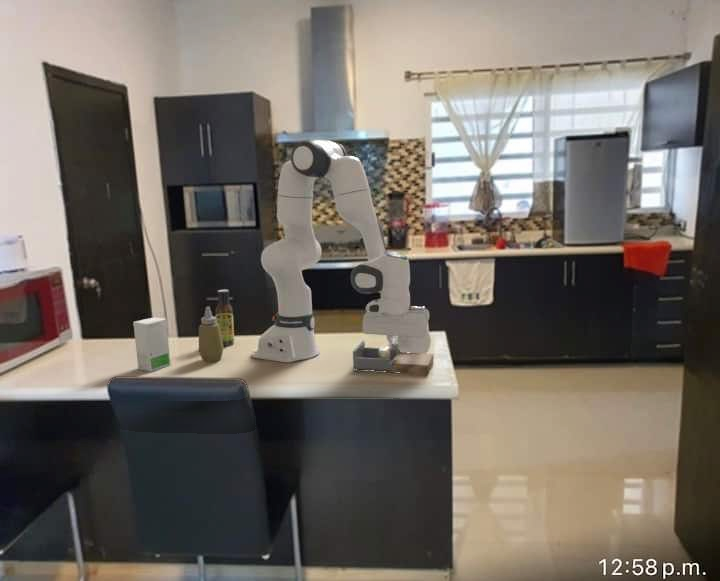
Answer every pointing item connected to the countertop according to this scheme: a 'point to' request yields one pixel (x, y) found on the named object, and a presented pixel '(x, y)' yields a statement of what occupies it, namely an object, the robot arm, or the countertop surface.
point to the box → (371, 359)
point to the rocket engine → (414, 344)
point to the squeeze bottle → (210, 338)
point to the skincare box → (152, 344)
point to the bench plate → (412, 363)
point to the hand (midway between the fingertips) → (395, 349)
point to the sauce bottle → (225, 317)
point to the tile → (384, 352)
